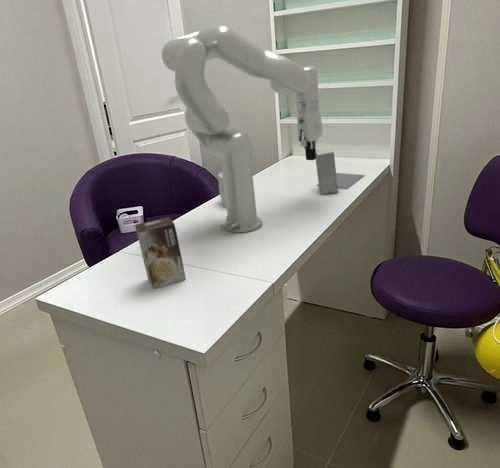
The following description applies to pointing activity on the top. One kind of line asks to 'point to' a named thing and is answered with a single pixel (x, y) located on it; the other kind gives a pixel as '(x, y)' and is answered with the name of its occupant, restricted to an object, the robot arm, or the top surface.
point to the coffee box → (160, 252)
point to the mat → (346, 180)
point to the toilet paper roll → (221, 189)
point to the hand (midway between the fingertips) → (311, 159)
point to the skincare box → (326, 171)
